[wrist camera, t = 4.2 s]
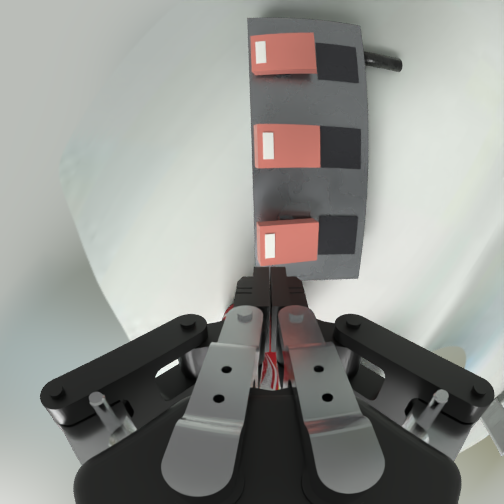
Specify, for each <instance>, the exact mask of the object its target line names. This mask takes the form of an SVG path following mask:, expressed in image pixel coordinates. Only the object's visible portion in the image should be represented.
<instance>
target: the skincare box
mask: <svg viewBox="0 0 504 504" xmlns="http://www.w3.org/2000/svg"><path fill="white" fill-rule="evenodd" d="M480 419H481V421H482V423H483V424H484V426H485V428H486V429H487V431H488V433H489V434H490V436H491V438H492V439H493V442H494V443H495V445H496V447H497V449H498V450H499V453H500V455H501V456H503V455H504V408H503V406H502V405H501V403H500V402H499V401H498V399H497V398H496V399H495V400H494V401H493V402H492V403H491V404H490V406H489V407H488V408H487V410H486V411H485V412H484V413H483V415H482V416H481V417H480Z"/></svg>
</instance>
